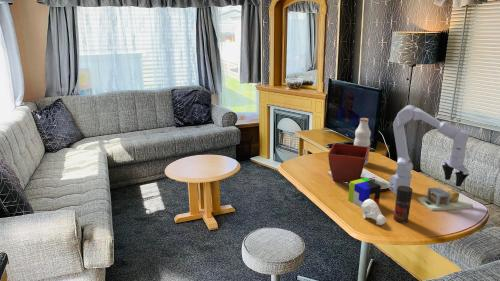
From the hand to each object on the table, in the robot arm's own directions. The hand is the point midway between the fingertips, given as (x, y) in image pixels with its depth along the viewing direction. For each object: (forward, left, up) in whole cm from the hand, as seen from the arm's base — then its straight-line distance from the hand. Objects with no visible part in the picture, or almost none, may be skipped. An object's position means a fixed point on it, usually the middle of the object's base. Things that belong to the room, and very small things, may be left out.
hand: (452, 182), depth 176 cm
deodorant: (-32, -12, -10) cm, 36 cm away
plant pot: (-38, +34, -10) cm, 52 cm away
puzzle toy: (-41, +6, -10) cm, 43 cm away
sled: (-4, -1, -9) cm, 10 cm away
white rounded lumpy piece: (-44, -11, -10) cm, 47 cm away
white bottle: (-20, +56, -10) cm, 60 cm away
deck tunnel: (-4, -1, -10) cm, 11 cm away
